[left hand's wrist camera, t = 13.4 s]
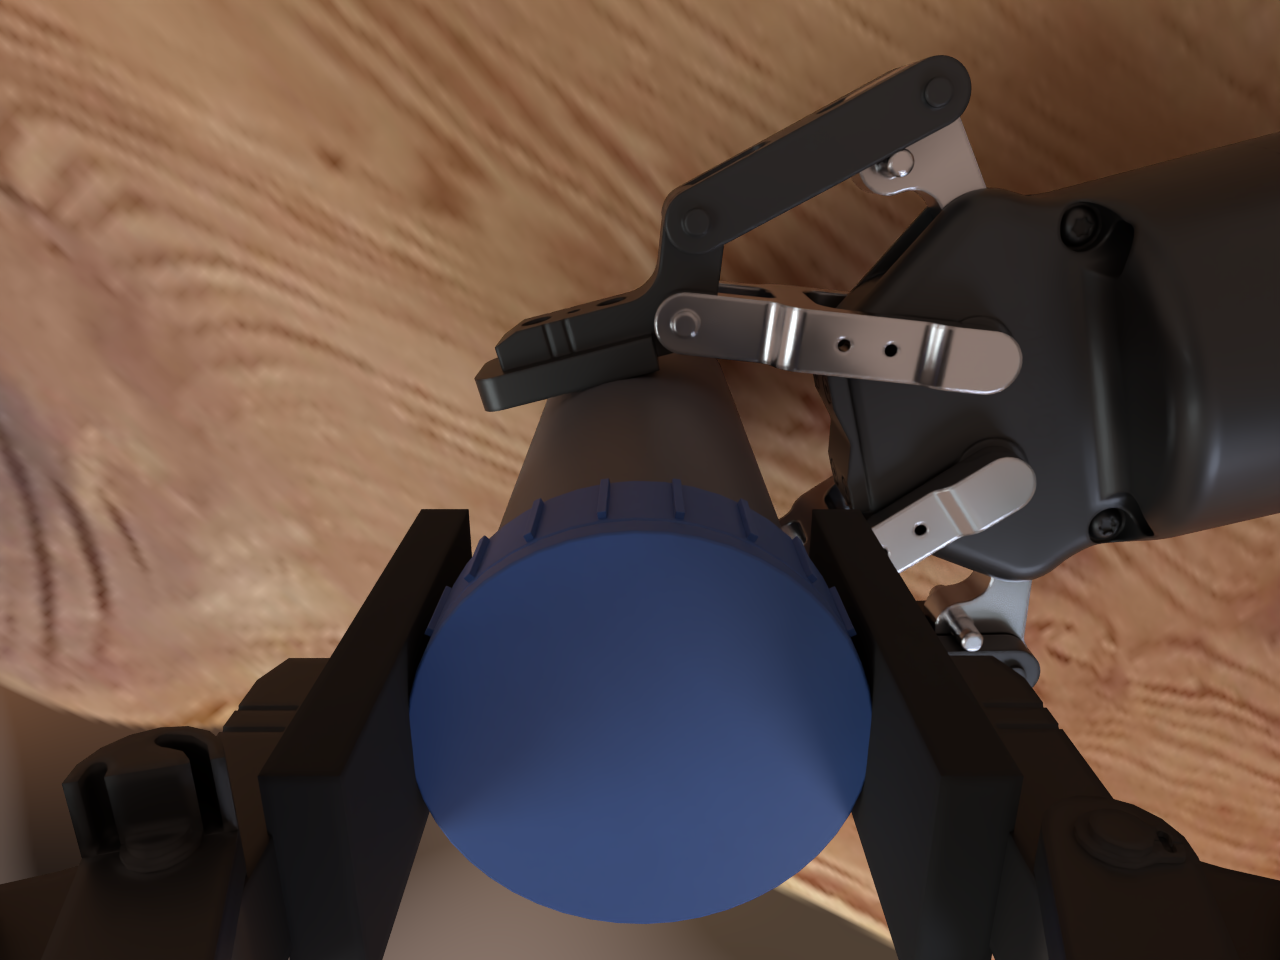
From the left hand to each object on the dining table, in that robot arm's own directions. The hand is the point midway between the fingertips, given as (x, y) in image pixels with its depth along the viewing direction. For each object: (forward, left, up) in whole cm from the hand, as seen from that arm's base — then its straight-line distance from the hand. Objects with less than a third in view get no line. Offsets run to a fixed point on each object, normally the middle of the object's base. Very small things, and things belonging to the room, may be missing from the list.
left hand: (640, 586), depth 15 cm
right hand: (+2, -2, -5) cm, 6 cm away
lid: (0, 0, +4) cm, 4 cm away
